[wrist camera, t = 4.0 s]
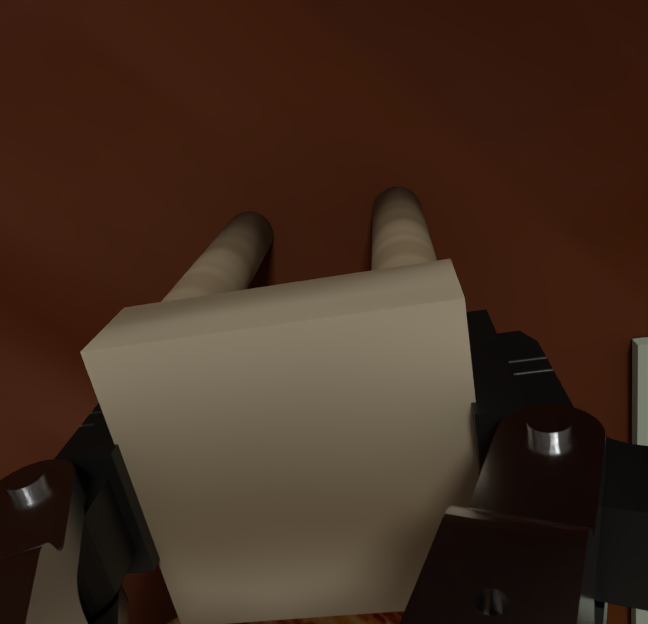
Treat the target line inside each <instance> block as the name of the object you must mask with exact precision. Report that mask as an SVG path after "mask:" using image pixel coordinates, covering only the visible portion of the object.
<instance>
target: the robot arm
mask: <svg viewBox="0 0 648 624" xmlns="http://www.w3.org/2000/svg"><path fill="white" fill-rule="evenodd" d="M466 315H467V324H468V334H469V343H470V352H471V362H472V371H473V380H474V390H475V399H476V402H473V403H471V405H472V414H473V423H474V433H475V442H476V451H477V460H478V469H479V478H478V481H477V484H476V487H475V489H474V492H473V495H472V498H471V500H470V503H469V506H468V508H464V507H458V506H450V507H449V508H448V509H447V511H446V512H445V514H444V516H443V518H442V520H441V523H440V525H439V528H438V530H437V533H436V535H435V538H434V540H433V542H432V545H431V547H430V550H429V552H428V555H427V557H426V560H425V562H424V565H423V567H422V569H421V572H420V574H419V577H418V579H417V582H416V584H415V587H414V589H413V592H412V594H411V596H410V599H409V601H408V604H407V606H406V609H405V611H404V614H403V616H402V618H401V621H400V623H399V624H606V617H607V604H608V603H610V604H615V605H620V606H625V607H630V608H636V609H641V610H646V611H648V446H644V445H636V444H630V443H625V442H620V441H617V440H614V439H610V438H608V437H606V434H605V429H604V427H603V425H602V424H601V423H600V421H599V420H597V419H596V418H595V417H594V416H592V415H591V414H589V413H587V412H585V411H583V410H580V409H577V408H574V407H573V405H572V403H571V401H570V399H569V397H568V396H567V394H566V392H565V390H564V388H563V387H562V385H561V383H560V381H559V379H558V377H557V376H556V374H555V372H554V371H553V370H552V367H551V365H550V363H549V361H548V359H546V356H545V354H544V352H543V350H542V348H541V347H540V345H539V343H538V341H536V340H534V339H533V338H531V337H529V336H527V335H526V334H524V333H522V332H521V331H513V332H505V333H498V334H497V333H496V331H495V328H494V326H493V324H492V321H491V319H490V317H489V314H488V312H487V310H479V311H471V312H466ZM159 561H160V558H159V555H158V552H157V549H156V547H155V544H154V541H153V538H152V536H151V533H150V530H149V528H148V525H147V522H146V519H145V517H144V514H143V511H142V508H141V506H140V503H139V500H138V498H137V495H136V492H135V489H134V487H133V484H132V481H131V478H130V476H129V473H128V470H127V468H126V465H125V462H124V459H123V457H122V454H121V451H120V448H119V446H118V444H114V442H113V439H112V436H111V434H110V431H109V428H108V426H107V423H106V420H105V418H104V415H103V412H102V409H101V407H100V404H99V403H98V404H97V406H96V407H95V408H94V410H93V411H92V414H90V415H89V416H88V417H87V418H86V420H85V421H84V422H83V423H82V427H79V428H78V430H77V431H76V432H75V434H74V435H73V436H72V437H71V439H70V440H69V441H68V442H67V444H66V445H65V446H64V447H63V449H62V450H61V451H60V452H59V454H58V455H57V456H56V457H55V459H52V460H45V461H41V462H37V463H34V464H31V465H28V466H25V467H23V468H21V469H19V470H17V471H15V472H13V473H11V474H9V475H8V476H6V477H5V478H3V479H2V480H0V624H128V598H127V596H126V593H125V591H124V588H123V586H122V582H123V580H124V577H125V575H126V573H137V572H149V571H155V570H156V568H157V565H158V563H159Z"/></svg>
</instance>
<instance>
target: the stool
mask: <svg viewBox="0 0 648 624" xmlns="http://www.w3.org/2000/svg"><path fill="white" fill-rule="evenodd" d="M272 241H273V230H272V227H271V225H270V223H269V222H268V221H267V219H266V218H264V217H263V216H262V215H260V214H258V213H255V212H243V213H240V214H238V215H236V216H235V217H234V218H233V219H232V220H231V221H230V222H229V223H228V225H227V226H226V227H225V228H224V229H223V230H222V232H221V233H220V234H219V235H218V236H217V237H216V239H215V240H214V241H213V242H212V243H211V244H210V246H209V247H208V248H207V249H206V250H205V251H204V253H203V254H202V255H201V256H200V257H199V258H198V260H197V261H196V262H195V263H194V264H193V265H192V266H191V268H190V269H189V270H188V271H187V272H186V273H185V275H184V276H183V277H182V278H181V279H180V280H179V282H178V283H177V284H176V285H175V286H174V287H173V289H172V290H171V291H170V292H169V293H168V294H167V296H166V297H165V298H164V299H163V300H162V301H161V302H159V303H152V304H146V305H139V306H132V307H126V308H123V309H122V310H121V311H120V312H119V313H118V314H117V315H116V316H115V317H114V319H113V320H112V321H111V322H110V323H109V324H108V325H107V326H106V327H105V328H104V329H103V330H102V331H101V332H100V333H99V334H98V335H97V336H96V337H95V338H94V339H93V340H92V341H91V342H90V343H89V344H88V345H87V346H86V347H85V348H84V349H83V350H82V351H81V352H80V353H81V355H82V358H83V361H84V363H85V366H86V369H87V371H88V374H89V377H90V380H91V382H92V385H93V388H94V390H95V393H96V396H97V399H98V401H99V404H100V407H101V409H102V412H103V415H104V418H105V420H106V423H107V426H108V428H109V431H110V434H111V436H112V439H113V442H114V444H118V446H119V448H120V451H121V454H122V457H123V459H124V462H125V465H126V468H127V470H128V473H129V476H130V478H131V481H132V484H133V487H134V489H135V492H136V495H137V498H138V500H139V503H140V506H141V508H142V511H143V514H144V517H145V519H146V522H147V525H148V528H149V530H150V533H151V536H152V538H153V541H154V544H155V547H156V549H157V552H158V555H159V558H160V561H159V563H158V564H159V566H160V569H161V572H162V575H163V577H164V580H165V583H166V585H167V588H168V591H169V594H170V596H171V599H172V602H173V604H174V607H175V610H176V612H177V615H178V618H179V621H180V623H181V624H229V623H243V622H257V621H271V620H285V619H300V618H314V617H328V616H342V615H356V614H370V613H384V612H398V611H405V609H406V606H407V604H408V601H409V599H410V596H411V594H412V592H413V589H414V587H415V584H416V582H417V579H418V577H419V574H420V572H421V569H422V567H423V565H424V562H425V560H426V557H427V555H428V552H429V550H430V547H431V545H432V542H433V540H434V538H435V535H436V533H437V530H438V528H439V525H440V523H441V520H442V518H443V516H444V514H445V512H446V511H447V509H448V508H449V507H450V506H458V507H464V508H468V506H469V503H470V500H471V498H472V495H473V492H474V489H475V487H476V484H477V481H478V478H479V469H478V460H477V451H476V442H475V433H474V423H473V414H472V405H471V403H473V402H476V399H475V390H474V380H473V371H472V362H471V352H470V343H469V334H468V324H467V315H466V306H465V298H464V295H463V292H462V289H461V287H460V284H459V281H458V278H457V275H456V273H455V270H454V267H453V264H452V262H451V259H446V260H439V261H437V260H436V256H435V253H434V249H433V246H432V243H431V239H430V236H429V232H428V229H427V226H426V222H425V219H424V215H423V212H422V209H421V205H420V202H419V200H418V198H417V196H416V195H415V194H414V193H413V192H412V191H410V190H409V189H407V188H404V187H391V188H388V189H386V190H384V191H383V192H381V193H380V194H379V195H378V197H377V198H376V200H375V202H374V205H373V215H372V268H371V271H366V272H359V273H352V274H346V275H339V276H332V277H326V278H319V279H312V280H306V281H299V282H292V283H286V284H279V285H272V286H266V287H259V288H252V289H248V287H249V285H250V283H251V281H252V279H253V277H254V276H255V274H256V272H257V270H258V268H259V266H260V265H261V263H262V261H263V259H264V257H265V255H266V253H267V252H268V250H269V248H270V246H271V244H272Z"/></svg>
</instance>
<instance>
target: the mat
mask: <svg viewBox="0 0 648 624" xmlns="http://www.w3.org/2000/svg"><path fill="white" fill-rule="evenodd" d="M632 444H636V445H644V446H648V337H644V338H636V339H632ZM631 624H648V611H646V610H641V609H636V608H631Z"/></svg>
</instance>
